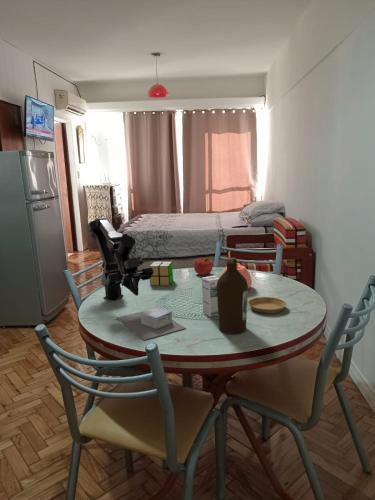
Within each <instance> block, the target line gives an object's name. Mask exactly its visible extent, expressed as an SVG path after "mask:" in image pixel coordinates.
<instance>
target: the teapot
mask: <svg viewBox="0 0 375 500" xmlns="http://www.w3.org/2000/svg"><path fill="white" fill-rule="evenodd" d="M226 270H227V265H226V266H225V268H224V269H223V271H222V272H221V274H220V276H221V275H222V274H223V273H224V272H225V271H226ZM237 270H238V271H239V272H240V273H241V274H242V275H243V276H244V277H245V279H246V281H247V284H248V290H249V289H251V288H250V287H251V286H252V284H253V283H252V278H251V274H250V272H249V271H248V269H247V267H246V266H245V265H241V263H239V262H237Z"/></svg>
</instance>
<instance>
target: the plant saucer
mask: <svg viewBox="0 0 375 500" xmlns="http://www.w3.org/2000/svg"><path fill="white" fill-rule="evenodd" d="M247 305H248V306H250V308H252V309H253V311H255V312H258V313H260V314H261V313H262V314H276V313H280V312H281V311H282V310H284V308H286V306H287V303H286V301H285V300H283V299H279V298H276V297H270V296H269V297H267V296H260V297H255V298H251V299H249V300H248V301H247Z"/></svg>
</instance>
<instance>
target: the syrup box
mask: <svg viewBox="0 0 375 500" xmlns="http://www.w3.org/2000/svg"><path fill="white" fill-rule="evenodd" d="M219 278H220V276H218V275H215V274H213V275H210V276H205V277H204V276H201V292H202V293H201V294H202V297H201V298H202V313H203V314H204V315H206V316H208V317H210V318H212V317H216V316H218V302H217V289H216V286H217V281H218V279H219Z"/></svg>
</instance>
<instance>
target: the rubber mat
mask: <svg viewBox="0 0 375 500" xmlns="http://www.w3.org/2000/svg"><path fill="white" fill-rule="evenodd" d="M147 310H148V309H147ZM147 310H146V309H145V310H143V311H138V312H135V313H129V314H126V315H122V316H117V317H116V319H118V321H119V322H120V323H122V324H123V325H124V326H125V327H127V328H128V329H129V330H130V331H131V332H133V333H134V334H135V335H137V336H138V337H139V338H140V339H141V340H143V341H148V340H151V339H155V338H159V337H163V336H165V335H166V336H167V335H169V334H173V333H176V332H180V331H184V330H186V328H187V327H185V326H183V325H182V324H181V323H178V322H177V321H176V320H173V319H172V323H170V324H168V325H166V326H163V327H161V328H159V329H154V328H152V327H149V326H146V325H143V324H141V312H144V311H147Z"/></svg>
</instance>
